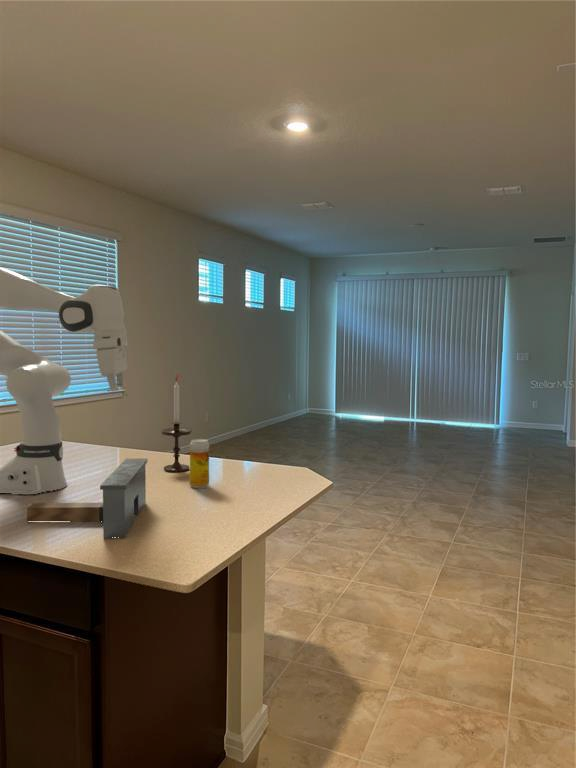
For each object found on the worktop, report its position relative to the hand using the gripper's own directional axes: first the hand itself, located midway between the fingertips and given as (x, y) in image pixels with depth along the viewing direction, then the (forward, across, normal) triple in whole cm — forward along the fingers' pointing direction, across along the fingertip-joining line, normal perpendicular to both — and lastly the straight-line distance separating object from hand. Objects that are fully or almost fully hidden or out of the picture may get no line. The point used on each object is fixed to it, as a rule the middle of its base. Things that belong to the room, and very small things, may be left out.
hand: (117, 388), depth 159 cm
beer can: (+36, -12, +19) cm, 42 cm away
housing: (+33, +19, +2) cm, 38 cm away
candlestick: (+35, -36, +10) cm, 51 cm away
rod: (+31, +19, -12) cm, 39 cm away
